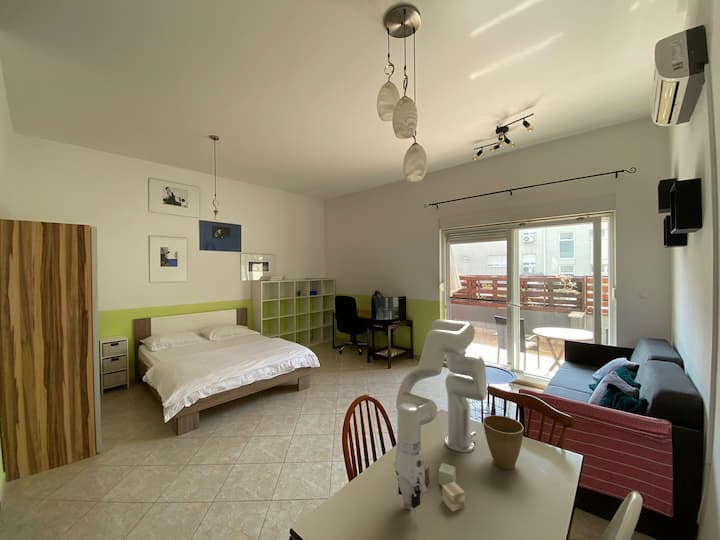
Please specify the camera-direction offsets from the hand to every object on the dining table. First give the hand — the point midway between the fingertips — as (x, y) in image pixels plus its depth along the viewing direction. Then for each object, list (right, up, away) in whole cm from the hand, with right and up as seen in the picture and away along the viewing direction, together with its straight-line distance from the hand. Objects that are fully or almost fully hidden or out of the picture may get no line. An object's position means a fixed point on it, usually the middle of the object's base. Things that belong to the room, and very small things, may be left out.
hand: (409, 498), depth 94 cm
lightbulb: (0, -3, 0) cm, 3 cm away
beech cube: (+15, -3, +2) cm, 16 cm away
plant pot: (+42, -4, +23) cm, 48 cm away
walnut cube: (+6, -4, +13) cm, 15 cm away
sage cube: (+16, -4, +12) cm, 20 cm away
